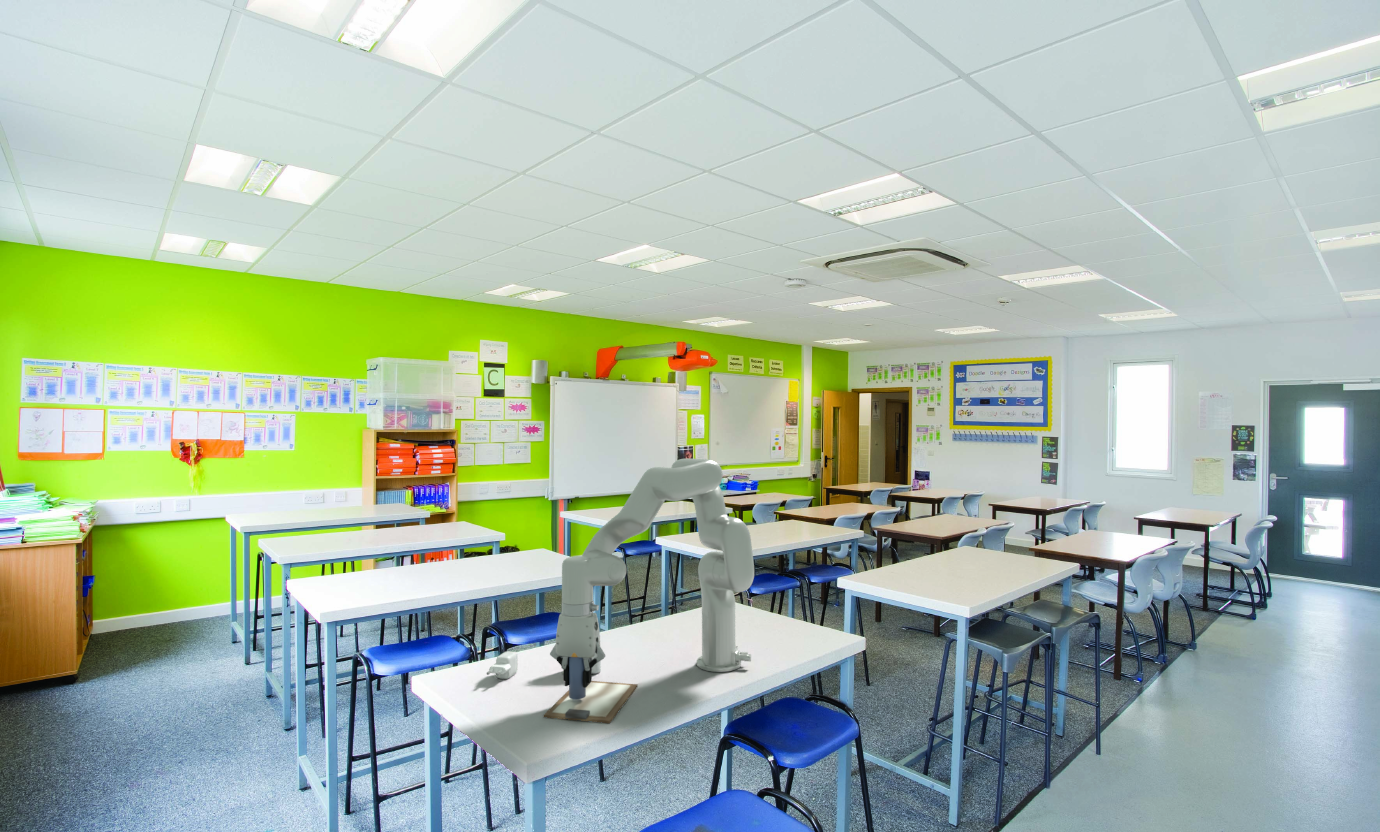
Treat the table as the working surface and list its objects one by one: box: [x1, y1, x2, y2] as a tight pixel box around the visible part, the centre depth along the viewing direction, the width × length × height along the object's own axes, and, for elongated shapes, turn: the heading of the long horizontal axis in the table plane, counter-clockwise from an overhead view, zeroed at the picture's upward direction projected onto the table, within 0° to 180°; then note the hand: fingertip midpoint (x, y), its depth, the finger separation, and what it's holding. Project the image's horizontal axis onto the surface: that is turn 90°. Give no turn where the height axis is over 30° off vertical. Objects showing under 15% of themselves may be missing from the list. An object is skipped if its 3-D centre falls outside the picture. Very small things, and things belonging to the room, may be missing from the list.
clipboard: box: [543, 680, 638, 724], centre depth 160 cm, size 16×22×2 cm
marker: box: [568, 653, 586, 699], centre depth 158 cm, size 4×4×12 cm
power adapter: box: [486, 650, 519, 680], centre depth 175 cm, size 11×5×6 cm, turn 168°
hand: (577, 683), depth 158 cm, fingers closed on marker, 4 cm apart
